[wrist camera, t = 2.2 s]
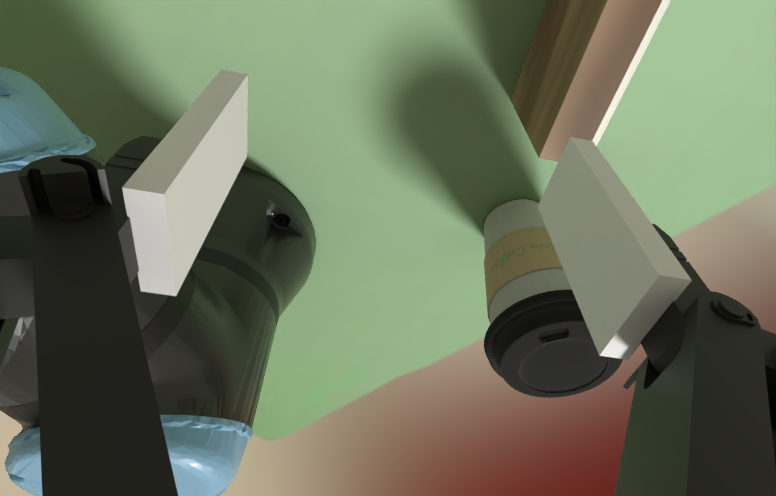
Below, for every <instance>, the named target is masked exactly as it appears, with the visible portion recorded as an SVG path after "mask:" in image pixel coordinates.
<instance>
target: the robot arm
mask: <svg viewBox="0 0 776 496" xmlns="http://www.w3.org/2000/svg"><path fill="white" fill-rule="evenodd" d="M247 120H248V74H243V73H238V72H232V71H227V70H221V71H220V72H219V73H218V75H217V76H216V77H215V78H214V79H213V80H212V82H211V83H210V84H209V85H208V86H207V88H206V89H205V90H204V91H203V92H202V93H201V95H200V96H199V97H198V98H197V99H196V101H195V102H194V103H193V104H192V105H191V106H190V108H189V109H188V110H187V111H186V112H185V114H184V115H183V116H182V117H181V118H180V119H179V121H178V122H177V123H176V124H175V125H174V127H173V128H172V129H171V130H170V131H169V132H168V134H167V135H166V136H165V137H164V138H163V139H157V138H152V137H146V136H141V137H139V138H137V139H135V140H132V141H130V142H128V143H126V144H124V145H123V146H122V147H121V148H120V149H119V150H118V151H117V152H116V154H115V155H114V157H112V158H111V159H110V160H109V161H108V162H107V163H105V162H104V161H103V159H102V158H101V157H100V156H99V155H98V153H97V152H96V151H95V149H94V147H95V146H96V143H95V142H94V140H93V139H92V138H91V137H90V136H88V135H85V134H83V133H82V132H81V131H80V130H79V129H78V128H77V127H76V126H75V124H74V123H73V122H72V121H71V120H70V119H69V118H68V117H67V116H66V114H65V113H64V112H63V111H62V110H61V109H60V108H59V107H58V105H57V104H56V103H55V102H54V101H53V100H52V99H51V98H50V97H49V95H48V94H47V93H46V92H45V91H44V90H43V89H42V88H41V87H40V86H39V85H38V84H37V83H36V82H35V81H33V80H32V79H31V78H29V77H28V76H26V75H24V74H22V73H20V72H18V71H15V70H12V69H9V68H5V67H0V410H1V411H2V412H4V413H5V414H7V415H8V416H10V417H11V418H13V419H14V420H16V421H17V422H19V423H20V424H21V425H22V428H23V430H22V431H21V432H20V433H19V434H18V435H17V436H15V437H14V438H13V439H12V441H11V442H10V444H9V445H8V446H9V453H8V456H7V458H6V460H5V466H6V471H7V472H8V475H9V477H10V479H11V480H12V481H13V482H14V483H15V484H16V485H17V486H19V487H20V488H22V489H24V490H26V491H27V492H29V493H31V494H33V495H36V496H220V495H221V494H222V493H223V492H224V491H225V490H226V489H227V488H228V487H229V485H230V484H231V483H232V481H233V480H234V478H235V476H236V474H237V471H238V468H239V465H240V462H241V459H242V456H243V453H244V450H245V447H246V444H247V442H248V441H249V440H250V439H251V437H252V431H253V430H252V425H253V421H254V416H255V412H256V408H257V404H258V400H259V396H260V392H261V387H262V383H263V379H264V375H265V371H266V367H267V362H268V358H269V354H270V350H271V346H272V342H273V338H274V334H275V330H276V326H277V322H278V318H279V317H280V315H281V314H282V313H283V311H284V310H285V309H286V307H287V306H288V305H289V304H290V302H291V301H292V300H293V298H294V297H295V296H296V295H297V293H298V292H299V291H300V289H301V288H302V287H303V285H304V284H305V282H306V281H307V279H308V276H309V274H310V272H311V268H312V264H313V259H314V255H315V249H316V238H315V232H314V228H313V225H312V223H311V220H310V218H309V216H308V214H307V212H306V211H305V209H304V208H303V206H302V205H301V204H300V203H299V201H298V200H297V199H296V198H295V197H294V196H293V195H292V194H291V193H290V192H289V191H288V190H286V189H285V188H284V187H283V186H281V185H280V184H278V183H277V182H275V181H274V180H272V179H270V178H268V177H267V176H265V175H263V174H260V173H258V172H256V171H253V170H250V169H247V168H244V167H242V165H243V163H244V161H245V159H246V157H247ZM538 209H539V212H540V214H541V216H542V219H543V221H544V224H545V226H546V228H547V231H548V233H549V236H550V238H551V240H552V243H553V245H554V248H555V250H556V252H557V255H558V257H559V260H560V262H561V264H562V267H563V269H564V272H565V274H566V276H567V279H568V281H569V284H570V286H571V288H572V291H573V293H574V296H575V298H576V301H577V303H578V305H579V308H580V310H581V313H582V315H583V317H584V320H585V322H586V325H587V327H588V329H589V332H590V334H591V337H592V339H593V341H594V344H595V346H596V349H597V351H598V353H599V356H605V357H612V358H620V359H629V358H630V356H631V355H632V354H633V353H634V351H635V350H636V349H637V348H638V347H639V345H640V344H642V346H643V348H644V350H645V352H646V354H647V358H646V359H645V360H644V361H643V362H642V364H641V365H640V366H639V367H638V368H637V369H636V371H635V372H634V373H633V374H632V376H631V377H630V378H629V379H628V380H627V381H626V383H625V385H624V386H623V387H624V388H626V389H628V388H629V387H630V386H631V385H632V384H635V383H636V385H635V390H634V395H633V400H632V406H631V411H630V417H629V421H628V427H627V432H626V437H625V443H624V448H623V453H622V458H621V463H620V469H619V474H618V479H617V484H616V489H615V495H614V496H776V334H774V333H771V332H768V331H765V330H763V329H761V327H760V324H759V322H758V319H757V318H756V317H755V316H754V315H753V313H752V312H751V311H750V310H749V309H747V308H746V307H745V306H744V305H742V304H741V303H740V302H738V301H736V300H734V299H733V298H731V297H729V296H726V295H724V294H721V293H718V292H711V291H710V290H709V289H708V288H707V286H706V285H705V284H704V282H703V281H702V280H701V278H700V277H699V275H698V274H697V273H696V271H695V270H694V269H693V268H692V266H691V265H690V263H689V262H686V260H687V259H686V258H685V256H684V255H683V254H682V252H680V251H679V248H678V247H677V246H676V244H675V243H674V242H673V240H672V239H671V238H670V236H668V235H667V234H666V233H665V232H664V231H662V230H661V229H660V228H659V227H658V226H656V225H655V224H651V222H650V221H649V219H648V218H647V217H646V215H645V214H644V212H643V211H642V210H641V208H640V207H639V205H638V204H637V203H636V201H635V200H634V198H633V197H632V196H631V194H630V193H629V191H628V190H627V189H626V187H625V186H624V184H623V183H622V182H621V180H620V179H619V177H618V176H617V175H616V173H615V172H614V170H613V169H612V168H611V166H610V165H609V163H608V162H607V161H606V159H605V158H604V156H603V155H602V154H601V152H600V151H599V149H598V148H597V147H596V145H595V144H594V142H593V141H589V140H584V139H579V138H574V137H570V139H569V141H568V143H567V145H566V147H565V149H564V151H563V154H562V156H561V158H560V160H559V162H558V164H557V166H556V169H555V171H554V173H553V175H552V177H551V179H550V181H549V183H548V186H547V188H546V190H545V192H544V194H543V196H542V198H541V200H540V203H539V205H538Z"/></svg>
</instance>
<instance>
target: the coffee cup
mask: <svg viewBox="0 0 776 496" xmlns="http://www.w3.org/2000/svg"><path fill="white" fill-rule="evenodd" d="M538 205H539V203H537V202H535V201H533V200H528V199H519V200H513V201H509V202H506V203H504V204H502V205H500V206H498V207H497V208H495V209H494V210H493V211H491V212H490V214H489V215H488V216H487V218H486V220H485V223H484V242H485V260H484V267H485V282H486V296H487V310H488V318H489V321H490V324H491V325H490V326H489V328H488V330H487V332H486V335H485V340H484V349H485V353H486V355H487V358H488V360H489V362H490V365H491V366H492V368H493V369H494V371H495V372H496V373H497V374H498V375H500V376H501V377H502V378H504V380H505V381H506V382H507V383H508V384H509V385H510V386H511V387H512V388H514V389H515V390H517V391H519V392H522V393H524V394H528V395H531V396H536V397H549V398H551V397H564V396H569V395H574V394H578V393H581V392H584V391H587V390H590V389H592V388H594V387H596V386H598V385H600V384H601V383H603V382H604V381H606V380H607V379H608V378H610V377H611V376H612V375H613V374H614V373H615V372H616V371H617V369H618V368H619V366H620V365H621V363H622V360H623V359H620V358H612V357H605V356H599V353H598V351H597V349H596V346H595V344H594V341H593V339H592V337H591V334H590V332H589V329H588V327H587V325H586V322H585V320H584V317H583V315H582V313H581V310H580V308H579V305H578V303H577V301H576V298H575V296H574V293H573V291H572V288H571V286H570V284H569V281H568V279H567V276H566V274H565V272H564V269H563V267H562V264H561V262H560V260H559V257H558V255H557V252H556V250H555V248H554V245H553V243H552V240H551V238H550V236H549V233H548V231H547V228H546V226H545V224H544V221H543V219H542V216H541V214H540V212H539V209H538Z"/></svg>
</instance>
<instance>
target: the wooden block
mask: <svg viewBox="0 0 776 496" xmlns="http://www.w3.org/2000/svg"><path fill="white" fill-rule="evenodd" d="M670 1H671V0H547V2H546V5H545V8H544V10H543V13H542V16H541V19H540V21H539V24H538V27H537V30H536V32H535V35H534V38H533V41H532V43H531V46H530V49H529V52H528V55H527V57H526V60H525V63H524V66H523V68H522V71H521V74H520V77H519V79H518V82H517V85H516V88H515V90H514V93H513V96H512V99H511V102H512V104H513V106H514V108H515V110H516V112H517V114H518V116H519V118H520V120H521V122H522V124H523V126H524V128H525V130H526V132H527V134H528V136H529V139H530V141H531V143H532V145H533V147H534V149H535V151H536V153H537V155H538V157H539V158H542V159H547V160H553V161H558V162H559V160H560V158H561V156H562V154H563V151H564V149H565V147H566V145H567V143H568V141H569V139H570V137H574V138H579V139H584V140H589V141H593V142H594V144H595V145H596V146H597V144H598V142H599V140H600V138H601V136H602V134H603V132H604V130H605V128H606V126H607V124H608V122H609V120H610V118H611V117H612V115H613V113H614V111H615V109H616V107H617V105H618V103H619V101H620V99H621V97H622V95H623V93H624V91H625V89H626V87H627V85H628V83H629V81H630V79H631V77H632V75H633V73H634V71H635V70H636V68H637V66H638V64H639V62H640V60H641V58H642V56H643V54H644V52H645V50H646V48H647V46H648V44H649V42H650V40H651V38H652V36H653V34H654V32H655V30H656V28H657V26H658V24H659V22H660V21H661V19H662V17H663V15H664V13H665V11H666V9H667V7H668V5H669V3H670Z"/></svg>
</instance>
